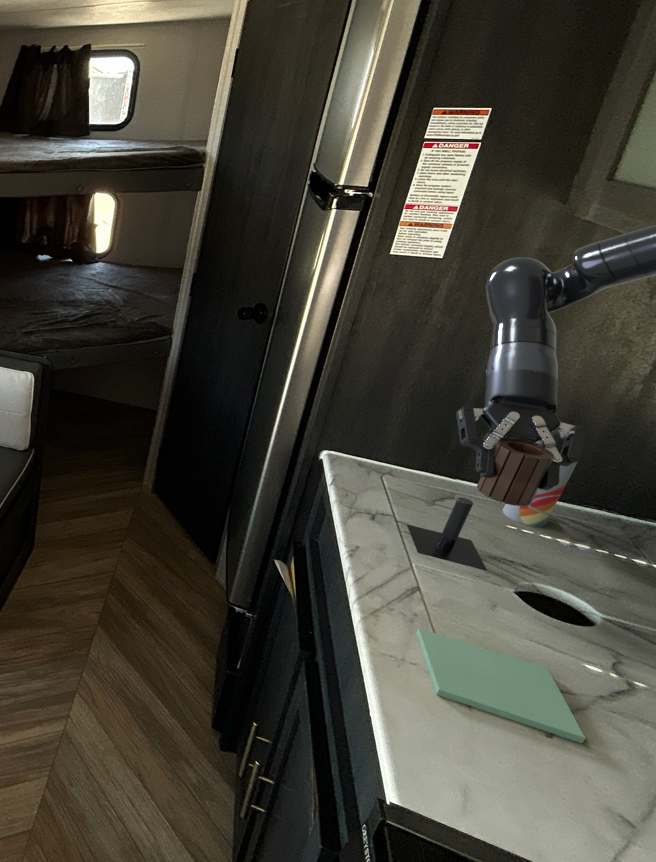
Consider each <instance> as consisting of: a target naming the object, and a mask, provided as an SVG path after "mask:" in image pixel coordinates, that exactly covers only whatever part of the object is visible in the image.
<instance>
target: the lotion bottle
mask: <svg viewBox="0 0 656 862" xmlns="http://www.w3.org/2000/svg"><path fill="white" fill-rule="evenodd" d="M550 434H551V435H552V437H553V439H554V440H555V442H556V448H557V450H558V452H559V453H561V449H562V446H563V442H564V439H562V438H561V436H560V432H559V431H558V430H556V429H555V430H554V431H553V432H551V433H550ZM577 464H578V461H577V462H574V463H572V464H571V465H569V466H562V465H561V466H560V475H559V476H560V477H559V483H558V485H557V486H554V487H553V488H552V489H549V490H542V489H538V491H537V493H536V495H535V497H534V499H533V501H532V503H531V504H530V505H528V506H517V505H516V506H514V505H509V504H505V503H504V506H503V509H502V513H503V515H505V516H506V517H507V518H508V519H511V520H512V521H514V522H516V523H520V524H522V525H525V526H529V527H534V528H542V527H544V526H545V525H546V524H547V522H548V520H549V518H550V517H551V514H552V512H553V511H554V509H555V507H556V504H557V503H558V501H559V499H560V498H561V495H562V493H563V491H564V490H565V488H566V486H567V483H568V482H569V480H570V478H571V476H572V474H573V472H574V470H575V468H576V466H577Z"/></svg>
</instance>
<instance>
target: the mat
mask: <svg viewBox="0 0 656 862" xmlns="http://www.w3.org/2000/svg"><path fill="white" fill-rule="evenodd" d="M415 633H416V637H417V640H418V643H419V646H420V649H421V652H422V655H423V658H424V661H425V664H426V668H427V670H428V673H429V676H430V680H431V683H432V685H433V688H434V691H435V694H436V695H437V696H440V697H442V698H445V699H449V700H451V701H455V702H458V703H461V704H463V705H466V706H469V707H472V708H474V709H478V710H481V711H484V712H487V713H490V714H492V715H496V716H499V717H501V718H505V719H508V720H511V721H514V722H517V723H519V724H523V725H525V726H529V727H532V728H535V729H537V730H541V731H544V732H546V733H550V734H552V735H555V736H558V737H562V738H564V739H567V740H570V741H574V742H576V743H579V744H583V743H584V742H585V740H586V736H585V733H584V732H583V731H582V729H581V727H580V725H579V723H578V722H577V720H576V718H575V716H574V714H573V712H572V710H571V709H570V706H569V705H568V703H567V701H566V699H565V697H564V696H563V694H562V692H561V690H560V687H559V686H558V684H557V682H556V681H555V679H554V677H553V675H552V674H551V671H550V670H549V668H548V667H547V666H545V665H542V664H538V663H534V662H531V661H528V660H525V659H521V658H518V657H515V656H511V655H508V654H506V653H505V654H504V653H501V652H498V651H495V650H491V649H488V648H485V647H481V646H478V645H475V644H472V643H468V642H465V641H462V640H459V639H455V638H452V637H449V636H445V635H443V634H442V635H441V634H438V633H435V632H433V631H429V630H426V629H422V628H417V631H416V632H415Z"/></svg>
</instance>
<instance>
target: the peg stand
mask: <svg viewBox="0 0 656 862" xmlns="http://www.w3.org/2000/svg"><path fill="white" fill-rule="evenodd" d="M473 505H474V502H473V500H470V499H469V498H465V497H462V496H461V497H457V499H456V500H455V502H454V505H453V507H452V510H451V512H450V514H449V517H448V519H447V521H446V523H445V525H444V527H443V530H442V532H440V531H436V530H431V529H427V528H424V527H419V526H415V525H412V524H408V523H406V526H407V527H406V528H407V529H408V532H409V534H410V537H411V540H412V542H413V544H414V547H415V549H416V552H417V554H421V555H424V556H429V557H432V558H436V559H439V560H444V561H447V562H451V563H455V564H459V565H462V566H467V567H471V568H474V569H478V570H483V571H488V570H487V568H486V566H485V563H484V562H483V561H482V558H481V556H480V554H479V553H478V550H477V549H476V547H475V545H474V543H473V541H472V540H471V539H469V538H465V537H461V536H460V534H461V531H462V529H463V528H464V525H465V523H466V521H467V519H468V516H469V514H470V512H471V510H472V508H473Z"/></svg>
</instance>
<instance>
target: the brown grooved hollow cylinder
mask: <svg viewBox="0 0 656 862" xmlns="http://www.w3.org/2000/svg"><path fill="white" fill-rule="evenodd" d="M492 451H495V453H494V457H495V459H494V473H493V475H492V476H490V477H489V478H485V477H481V476H480V478H479V481H478V483H477V485H476V488H477V490H478V492H480V493H481V494H482V495H484V496H486V497H487V498H490V499H491V500H494V501H496V502H499V503H503V504H504V505H505V504H509V505H514V506H516V505H517V506H528V505H530V504H531V503H532V501H533V499H534V497H535V495H536V493H537V491H538V489H539V487H540V485H541V483H542V481H543V479H544V477H545V474H546V472H547V470H548V468H549V466H550V464H551V462H552V460H553V458H554V455H553V453H552V452H550V451H549V450H547V449H545V448H543V447H541V446H538V445H536V444H533V443H530V442H524V441H522V440H516V439H500V440H498V441H497V442H496V445H495V446H494V448H492Z"/></svg>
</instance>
